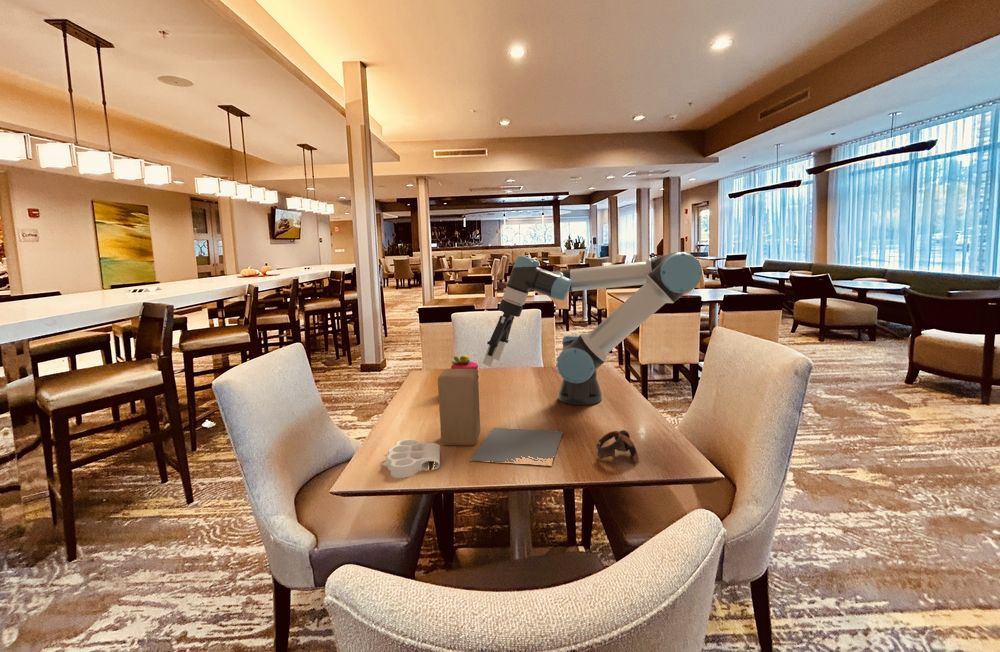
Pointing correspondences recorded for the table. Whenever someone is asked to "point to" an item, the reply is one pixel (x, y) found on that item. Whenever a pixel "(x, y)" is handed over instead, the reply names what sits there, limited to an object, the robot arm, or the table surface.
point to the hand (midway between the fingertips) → (491, 362)
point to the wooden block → (459, 406)
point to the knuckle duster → (411, 457)
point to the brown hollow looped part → (617, 445)
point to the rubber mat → (518, 445)
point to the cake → (464, 364)
